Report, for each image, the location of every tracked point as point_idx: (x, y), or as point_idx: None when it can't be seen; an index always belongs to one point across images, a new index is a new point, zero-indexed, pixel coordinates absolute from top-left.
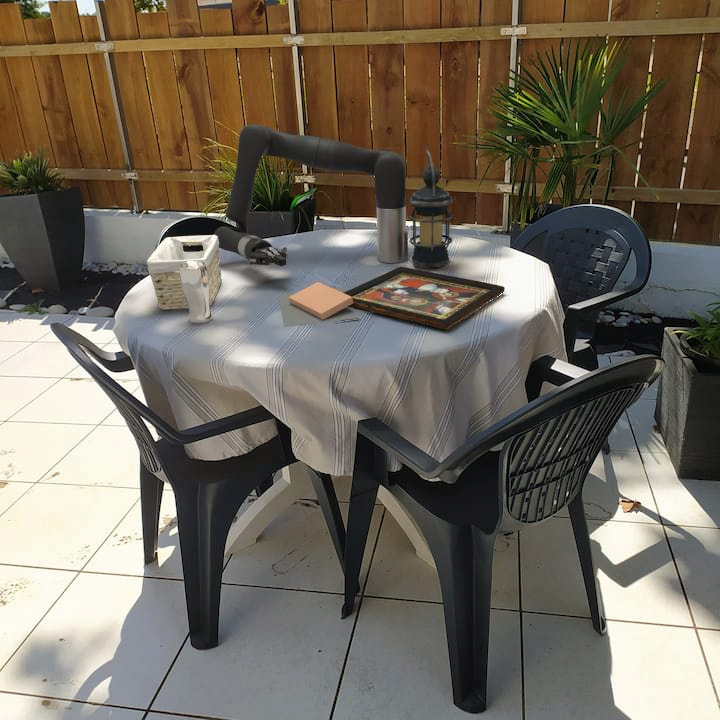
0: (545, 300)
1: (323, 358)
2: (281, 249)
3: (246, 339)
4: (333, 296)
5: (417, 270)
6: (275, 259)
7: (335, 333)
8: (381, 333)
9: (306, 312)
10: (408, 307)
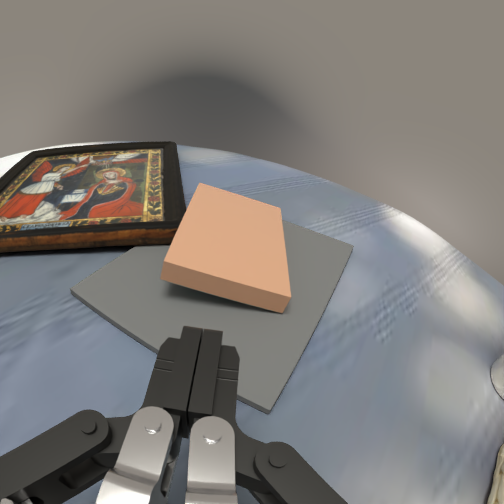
0: (43, 148)
1: (334, 188)
2: (13, 502)
3: (424, 262)
4: (216, 206)
5: None
6: (235, 383)
7: (282, 202)
8: (229, 177)
9: None
10: (142, 170)
